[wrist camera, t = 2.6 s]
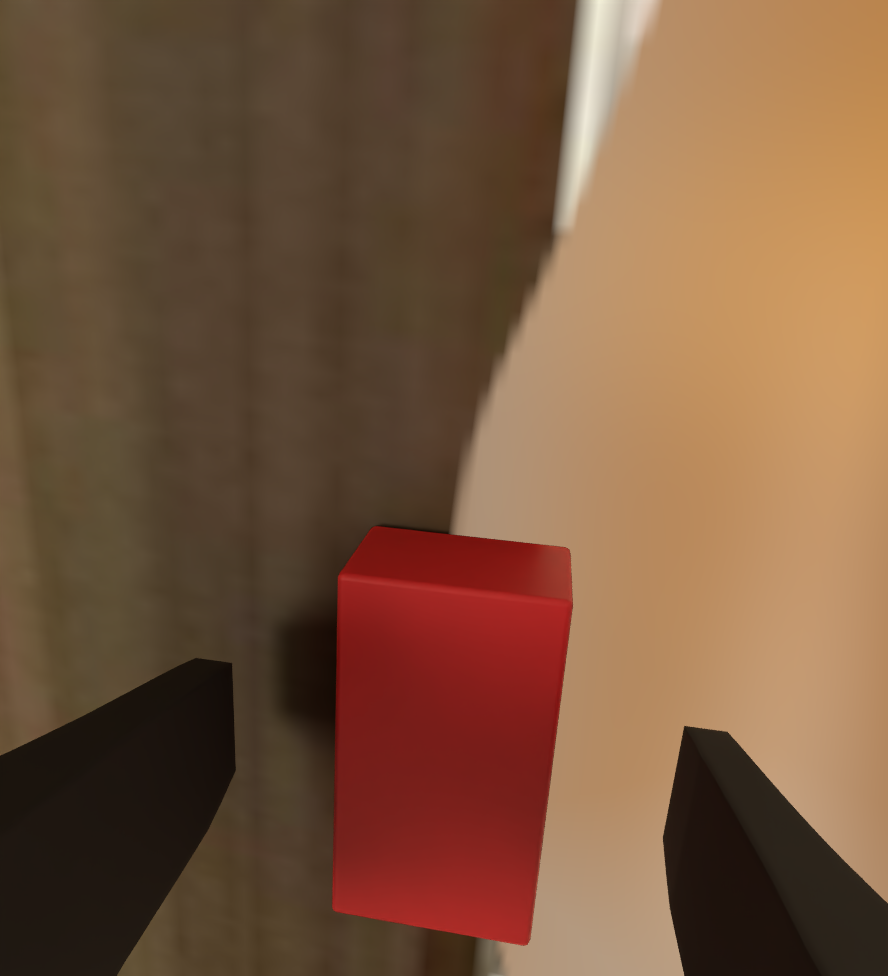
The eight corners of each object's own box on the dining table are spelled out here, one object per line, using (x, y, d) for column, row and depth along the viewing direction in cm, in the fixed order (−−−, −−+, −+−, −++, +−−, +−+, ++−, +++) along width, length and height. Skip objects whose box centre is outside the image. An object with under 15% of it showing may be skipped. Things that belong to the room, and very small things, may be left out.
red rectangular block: (533, 850, 13) (529, 949, 11) (361, 822, 14) (330, 913, 12) (571, 546, 11) (574, 602, 9) (371, 523, 12) (335, 573, 10)
